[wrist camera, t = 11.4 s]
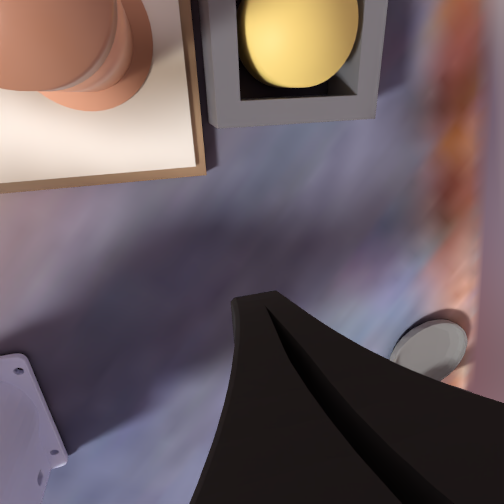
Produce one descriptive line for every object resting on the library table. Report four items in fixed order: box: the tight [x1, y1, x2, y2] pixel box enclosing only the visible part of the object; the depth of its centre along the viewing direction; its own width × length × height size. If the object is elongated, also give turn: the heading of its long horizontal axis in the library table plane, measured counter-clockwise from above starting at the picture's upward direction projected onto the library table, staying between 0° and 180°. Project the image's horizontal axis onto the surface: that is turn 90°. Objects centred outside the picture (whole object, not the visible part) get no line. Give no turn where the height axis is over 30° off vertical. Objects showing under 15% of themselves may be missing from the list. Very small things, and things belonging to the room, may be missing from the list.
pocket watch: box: [390, 319, 472, 393], centre depth 24 cm, size 8×8×10 cm
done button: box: [236, 0, 358, 88], centre depth 14 cm, size 4×4×3 cm
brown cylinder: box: [0, 0, 133, 92], centre depth 10 cm, size 4×4×8 cm
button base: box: [198, 0, 388, 129], centre depth 15 cm, size 7×7×3 cm
